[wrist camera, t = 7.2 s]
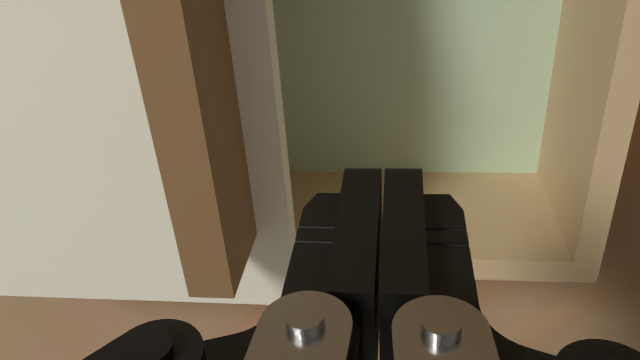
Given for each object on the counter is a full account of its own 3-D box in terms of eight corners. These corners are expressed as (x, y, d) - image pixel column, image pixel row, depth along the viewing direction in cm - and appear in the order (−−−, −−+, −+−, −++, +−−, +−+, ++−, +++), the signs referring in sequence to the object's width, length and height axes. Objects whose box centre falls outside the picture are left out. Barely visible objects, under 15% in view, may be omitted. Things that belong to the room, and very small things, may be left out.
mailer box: (127, -226, 22) (14, -251, 16) (627, -271, 20) (739, -322, 13) (204, 180, 31) (153, 270, 25) (552, 182, 29) (596, 283, 22)
